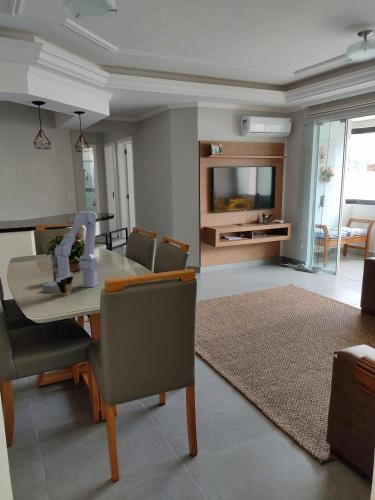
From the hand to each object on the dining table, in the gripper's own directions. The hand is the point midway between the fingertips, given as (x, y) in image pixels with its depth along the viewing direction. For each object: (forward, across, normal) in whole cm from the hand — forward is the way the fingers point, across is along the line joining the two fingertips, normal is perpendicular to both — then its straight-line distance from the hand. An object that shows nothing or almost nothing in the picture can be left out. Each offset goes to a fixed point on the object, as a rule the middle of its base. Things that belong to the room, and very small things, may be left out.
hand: (65, 291), depth 197 cm
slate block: (+2, -6, -11) cm, 13 cm away
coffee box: (+2, -23, -15) cm, 28 cm away
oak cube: (+1, 0, 0) cm, 1 cm away
